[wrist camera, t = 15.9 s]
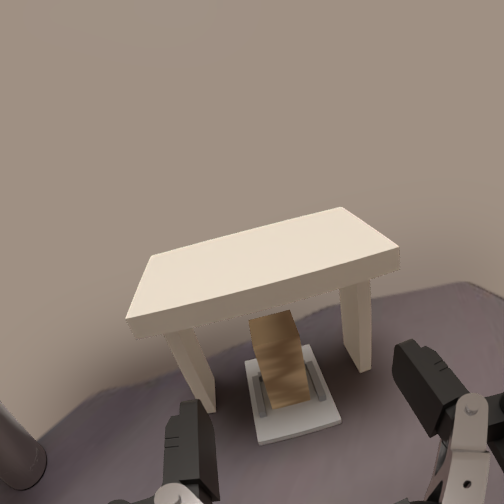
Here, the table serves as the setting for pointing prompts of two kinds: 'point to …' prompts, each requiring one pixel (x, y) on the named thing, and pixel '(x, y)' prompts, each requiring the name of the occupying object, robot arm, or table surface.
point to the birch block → (280, 359)
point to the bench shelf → (266, 302)
